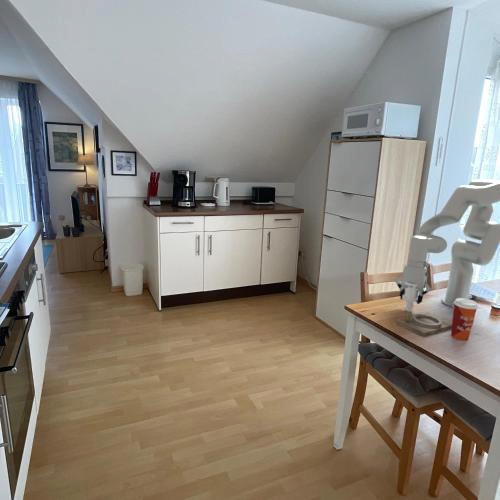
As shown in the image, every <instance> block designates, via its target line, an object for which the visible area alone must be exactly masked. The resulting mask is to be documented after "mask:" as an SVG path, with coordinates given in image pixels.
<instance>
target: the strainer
mask: <svg viewBox="0 0 500 500" xmlns="http://www.w3.org/2000/svg"><path fill="white" fill-rule="evenodd" d="M405 284H406V285H409V286H413V287H409V286H408V287H405V294H404V295H403V296H402V298H403V299H402V300H404V301H406V303H405V308H404V310H405V311H406V312H411V313H412V312H413V308H414V303H417V300H418V295H419V292H418V289H416V287H417V284H412V283H408V282H405Z"/></svg>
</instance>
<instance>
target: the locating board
mask: <svg viewBox="0 0 500 500" xmlns="http://www.w3.org/2000/svg"><path fill="white" fill-rule="evenodd" d="M406 312H407V313H406V317H404V318H401V319H397V321H396V324H397V325H400V326H401V327H404V328H406V329H408V330H410V331H412V332H414V333H416V334H418V335H420V336H422V337H427V336H431V335H434V334H438V333H441V332H444V331H447V330H448V331H449V330H451V329H452V321H450V320H448V319H445V318H443V317H441V316H439V315H435V314H433V313H431V312H423V313H414V314H413V315H412V311H411V312H409V311H406Z"/></svg>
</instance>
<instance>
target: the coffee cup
mask: <svg viewBox="0 0 500 500" xmlns="http://www.w3.org/2000/svg"><path fill="white" fill-rule="evenodd" d="M478 309H479V306H478V303H477V302H476V301H475V300H471V299H470V298H469V299H465V298H457V299H456V300H455V301H454V307H453V313H452V321H451V322H452V328H451V329H450V331H451V332H450V336H451V337H452V338H453V339H455V340H458V341H462V342H463V341H465V342H466V341H468V340H469V338H470V334H471V330H472V328H473V325H474V320H475V317H476V312H477V310H478Z"/></svg>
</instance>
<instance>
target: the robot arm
mask: <svg viewBox="0 0 500 500" xmlns="http://www.w3.org/2000/svg"><path fill="white" fill-rule="evenodd" d="M468 183H469V184H468V185H460V186H458V187H456V188H455V190H454V191H453V193H452V194H451V196H450V198H449V199H448V200H447V202H446V204H445V205H444V206H443V208H442V209H441V211H440V212H439V213H437V214H436V215H433V216H432V217H430V218H429V219H427V220H426V221H425V222H424V223H422V225H420V227H419V229H418V231H417V232H416V233H415V235H412V236H411V237H410V241H409V248H408V254H407V260H406V261H407V262H406V264H405V265H404V267H403V270H402V274H401V276H400V277H399V278H397V279H395V280H394V281H395V283H396V285H397V287H398V289H399V297H400V298H399V299H400V300H404V299H403V298H402V296H403V295H404V294H405V288H406V287H408V286H409V285H406V284H405V282H408V283H412V284H417V287H416V289H415V290H417V289H418V300H417V302H416V304H418V305H419V304H421V303H422V302H423V297H424V295H426V294H428V293H429V292H431V291H432V289H433V288H432V287H431V286H430V285H429V283H428V267H429V266H430V263H428V262H427V257H428V253H431V254H440V253H443V252H444V251H446V250H447V247H448V242H447V240H446V239H445V238H443V237H442V236H438V235H435V234H433V232H435V231H436V230H437V229H440V228H442V227H445V226H450V225H454V224H457V223H459V222H460V221H461V219H462V218H463V216H464V215H465V213H466V211H467V210H468V209H469V207H471V210H470V213H469V215H468V217H467V219H466V222H465V225H464V227H463V235H464V236H465V237H466V238H469V239H473V240H476V241H481V242H475V241H472V240H468V239H459V240H456V241H455V242H454V243H453V244H452V246H451V251H450V252H451V264H450V269H449V275H448V279H447V280H448V282H447V287H446V292H445V296H442V297H441V299H440V301H441V303H443V304H445V305H446V306H449V307H452V308H454V301H455V300H456V299H457V298H465V299H469V300H470V299H472V298H473V295H472V294H470V291H471V286H472V280H473V275H474V266H473V264H475V265H477V266H482V267H483V266H486V265H487V266H488V265H489V264H490V263H491V262H492V260H493V259H494V256H495V254H496V251H497V249H498V247H499V245H500V223H499V222H496V221H492V220H491V219H492V215H493V213H494V208H493V204H495V203H499V202H500V180H494V179H473V180H471V181H470V182H468ZM409 287H413V286H409ZM425 288H426V289H425ZM424 289H425V290H424Z"/></svg>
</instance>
